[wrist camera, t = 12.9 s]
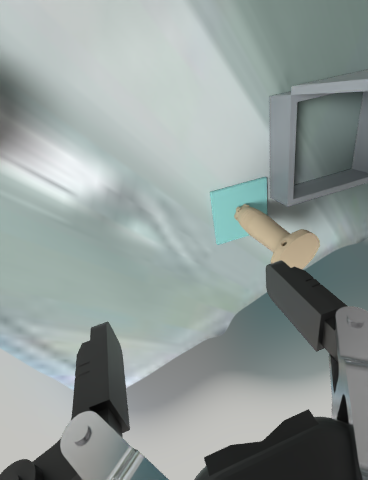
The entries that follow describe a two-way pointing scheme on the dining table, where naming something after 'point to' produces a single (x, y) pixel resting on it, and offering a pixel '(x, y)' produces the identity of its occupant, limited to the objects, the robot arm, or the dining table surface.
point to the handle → (278, 237)
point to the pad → (230, 200)
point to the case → (284, 139)
